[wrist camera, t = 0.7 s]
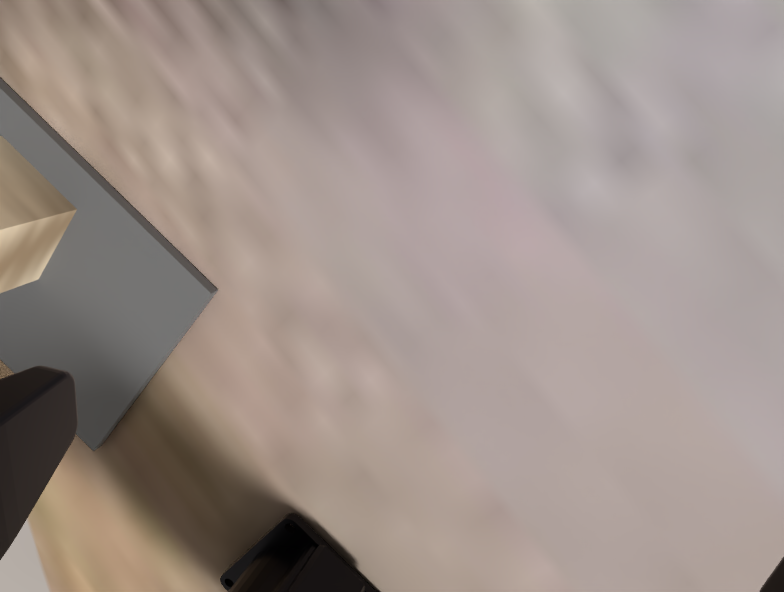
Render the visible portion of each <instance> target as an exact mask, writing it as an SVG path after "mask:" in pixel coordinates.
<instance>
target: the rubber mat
mask: <svg viewBox="0 0 784 592" xmlns="http://www.w3.org/2000/svg"><path fill="white" fill-rule="evenodd" d="M0 136H2V137H3V138H4V139H6V140H7V141H8V142H9V143H10V144H11V145H12V146H13V147H14V148H15V149H16V150H17V151H18V152H19V153H20V154H21V155H22V156H23V157H24V158H25V159H26V160H27V161H28V162H29V163H30V164H31V165H32V166H33V167H34V168H35V169H36V170H37V171H38V172H39V173H40V174H41V175H42V176H43V177H44V178H45V179H46V180H48V181H49V182H50V183H51V184H52V185H53V186H54V187H55V188H56V189H57V190H58V191H59V192H60V193H61V194H62V195H63V196H64V197H65V198H66V199H67V200H68V201H69V202H70V203H71V204H72V205H73V206H74V207H75V208H76V209H77V210H76V212H75V214H74V216H73V218H72V220H71V221H70V223H69V225H68V227H67V229H66V230H65V232H64V234H63V236H62V238H61V240H60V241H59V243H58V245H57V247H56V249H55V250H54V252H53V254H52V256H51V258H50V259H49V261H48V263H47V265H46V267H45V269H44V270H43V272H42V274H41V276H40V278H39V279H38V280H35V281H33V282H30V283H27V284H24V285H22V286H19V287H16V288H14V289H11V290H8V291H5V292H3V293H0V360H1V361H2V362H3V363H4V364H5V365H6V366H8V367H9V368H10V369H11V370H12V371H13V372H14V373H18V372H21V371H23V370H26V369H29V368H31V367H34V366H39V365H41V366H48V367H52V368H56V369H60V370H64V371H68V372H69V373H71V374H72V376H73V377H74V380H75V389H76V402H77V415H78V426H77V431H76V435H77V436H78V437H79V438H81V439H82V440H83V441H84V442H85V443H86V444H87V445H88V446H89V447H90V448H91V449H92V450H93V451H95V450H96V449H97V448H99V447H100V446H101V445H102V444H103V443H104V441H105V440H106V439H107V437H108V436H109V435H110V433H111V432H112V431H113V429H114V428H115V427H116V425H117V424H118V423H119V421H120V420H121V419H122V417H123V416H124V415H125V413H126V412H127V411H128V409H129V408H130V407H131V405H132V404H133V403H134V401H135V400H136V399H137V397H138V396H139V395H140V393H141V392H142V391H143V389H144V388H145V387H146V385H147V384H148V383H149V381H150V380H151V379H152V377H153V376H154V375H155V373H156V372H157V371H158V369H159V368H160V367H161V365H162V364H163V363H164V361H165V360H166V359H167V357H168V356H169V355H170V353H171V352H172V351H173V349H174V348H175V347H176V345H177V344H178V343H179V341H180V340H181V339H182V337H183V336H184V335H185V333H186V332H187V331H188V329H189V328H190V327H191V325H192V324H193V323H194V321H195V320H196V319H197V317H198V316H199V315H200V313H201V312H202V311H203V309H204V308H205V307H206V305H207V304H208V303H209V301H210V300H211V299H212V297H213V296H214V295H215V293H216V292H217V291H218V289H217V288H216V287H215V286H214V285H213V284H212V283H211V282H210V281H209V280H207V279H206V278H205V277H204V276H203V275H202V274H201V273H200V272H199V271H198V270H197V269H196V268H195V267H194V266H193V265H192V264H191V263H190V262H189V261H188V260H187V259H186V258H185V257H184V256H183V255H182V254H181V253H180V252H179V251H178V250H177V249H176V248H175V247H174V246H173V245H172V244H171V243H169V242H168V241H167V240H166V239H165V238H164V237H163V236H162V235H161V234H160V233H159V232H158V231H157V230H156V229H155V228H154V227H153V226H152V225H151V224H150V223H149V222H148V221H147V220H146V219H145V218H144V217H143V216H142V215H141V214H140V213H139V212H138V211H137V210H136V209H135V208H134V207H133V206H131V205H130V204H129V203H128V202H127V201H126V200H125V199H124V198H123V197H122V196H121V195H120V194H119V193H118V192H117V191H116V190H115V189H114V188H113V187H112V186H111V185H110V184H109V183H108V182H107V181H106V180H105V179H104V178H103V177H102V176H101V175H100V174H99V173H98V172H97V171H96V170H95V169H93V168H92V167H91V166H90V165H89V164H88V163H87V162H86V161H85V160H84V159H83V158H82V157H81V156H80V155H79V154H78V153H77V152H76V151H75V150H74V149H73V148H72V147H71V146H70V145H69V144H68V143H67V142H66V141H65V140H64V139H63V138H62V137H61V136H60V135H59V134H58V133H57V132H55V131H54V130H53V129H52V128H51V127H50V126H49V125H48V124H47V123H46V122H45V121H44V120H43V119H42V118H41V117H40V116H39V115H38V114H37V113H36V112H35V111H34V110H33V109H32V108H31V107H30V106H29V105H28V104H27V103H26V102H25V101H24V100H23V99H22V98H21V97H20V96H19V95H17V94H16V93H15V92H14V91H13V90H12V89H11V88H10V87H9V86H8V85H7V84H6V83H5V82H4V81H3V80H2V79H1V78H0Z"/></svg>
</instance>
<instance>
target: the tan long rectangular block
mask: <svg viewBox="0 0 784 592" xmlns="http://www.w3.org/2000/svg"><path fill="white" fill-rule="evenodd" d="M76 210H77V209H76V208H75V207H74V206H73V205H72V204H71V203H70V202H69V201H68V200H67V199H66V198H65V197H64V196H63V195H62V194H61V193H60V192H59V191H58V190H57V189H56V188H55V187H54V186H53V185H52V184H51V183H50V182H49V181H48V180H46V179H45V178H44V177H43V176H42V175H41V174H40V173H39V172H38V171H37V170H36V169H35V168H34V167H33V166H32V165H31V164H30V163H29V162H28V161H27V160H26V159H25V158H24V157H23V156H22V155H21V154H20V153H19V152H18V151H17V150H16V149H15V148H14V147H13V146H12V145H11V144H10V143H9V142H8V141H7V140H6V139H4V138H3V137H2V136H0V293H3V292H5V291H8V290H11V289H14V288H16V287H19V286H22V285H24V284H27V283H30V282H33V281H35V280H38V279H39V278H40V276H41V274H42V272H43V270H44V269H45V267H46V265H47V263H48V261H49V259H50V258H51V256H52V254H53V252H54V250H55V249H56V247H57V245H58V243H59V241H60V240H61V238H62V236H63V234H64V232H65V230H66V229H67V227H68V225H69V223H70V221H71V220H72V218H73V216H74V214H75V212H76Z"/></svg>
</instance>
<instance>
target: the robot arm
mask: <svg viewBox="0 0 784 592" xmlns="http://www.w3.org/2000/svg"><path fill="white" fill-rule="evenodd" d="M77 426H78V415H77V402H76V389H75V380H74V377H73V376H72V374H71V373H69V372H68V371H64V370H60V369H56V368H52V367H48V366H41V365H39V366H34V367H31V368H29V369H26V370H23V371H21V372H18V373H15V374H13V375H10V376H7V377H5V378H2V379H0V560H1V558H2V557H3V556H4V554H5V552H6V551H7V550H8V548H9V547H10V545H11V544H12V542H13V541H14V539H15V537H16V536H17V534H18V533H19V531H20V529H21V528H22V526H23V524H24V523H25V521H26V519H27V518H28V516H29V514H30V513H31V511H32V509H33V507H34V506H35V504H36V502H37V501H38V499H39V497H40V495H41V494H42V492H43V490H44V489H45V487H46V485H47V484H48V482H49V480H50V478H51V477H52V475H53V473H54V472H55V470H56V468H57V466H58V465H59V463H60V461H61V460H62V458H63V456H64V455H65V453H66V451H67V449H68V448H69V446H70V444H71V443H72V441H73V439H74V436H75V434H76V431H77ZM290 524H291V525H293V526H294V527H292V526H291V525H290ZM220 581H221V584H222V585H223V587H224V588H225V589H226V590H227V591H228V592H376V591H375V590H374V589H373V588H372V587H371V586H370V585H369V584H368V583H367V582H366V581H365V580H363V579H362V578H361V577H360V576H359V575H358V574H357V573H356V572H355V571H354V570H353V569H352V568H351V567H350V566H349V565H348V564H347V563H346V562H345V561H344V560H343V559H342V558H341V557H340V556H339V555H338V554H337V553H336V552H335V551H334V550H333V549H332V548H331V547H330V546H329V545H328V544H327V543H326V542H325V541H324V540H323V539H322V538H321V537H320V536H319V535H318V534H317V533H316V532H315V531H313V530H312V529H311V528H310V527H309V526H308V525H307V524H306V523H305V522H304V521H303V520H302V519H301V518H300V517H299V516H298V515H296V514H287V515H286V516H285V517H284V518H283V519H281V520H280V521H279V522H278V523H277V524H276V525H275V526H274V527H273V528H272V529H271V530H269V531H268V532H267V533H266V534H265V535H264V536H263V537H262V538H261V539H260V540H259V541H257V542H256V543H255V544H254V545H253V546H252V547H251V548H250V549H249V550H248V551H247V552H245V553H244V554H243V555H242V556H241V557H240V558H239V559H238V560H237V561H236V562H235V563H233V564H232V565H231V566H230V567H229V568H228V569H227V570H226V571H225V572H224V573H223V575H222V576H221V578H220ZM760 592H784V557H783V558H782V560H781V561H780V563H779V564H778V565H777V567H776V568H775V570H774V571H773V572H772V574H771V575H770V576H769V578H768V579H767V581H766V582H765V583H764V585H763V586H762V588H761V590H760Z"/></svg>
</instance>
